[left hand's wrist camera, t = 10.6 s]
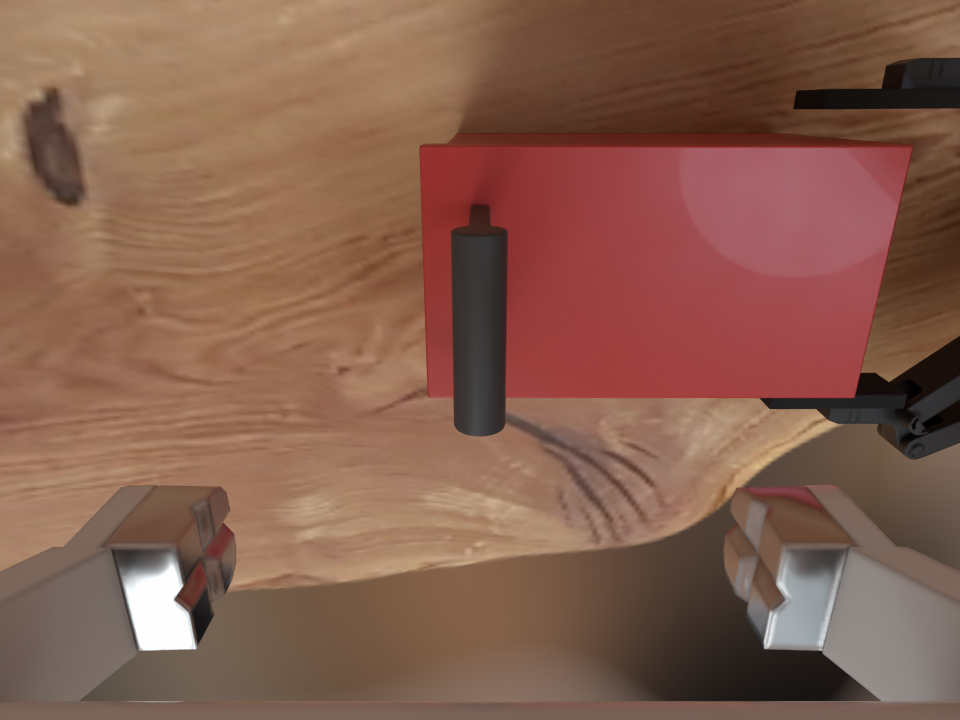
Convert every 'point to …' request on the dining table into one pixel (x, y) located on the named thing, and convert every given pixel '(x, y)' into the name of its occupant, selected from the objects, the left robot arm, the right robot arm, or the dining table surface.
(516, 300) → the lid
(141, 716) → the left robot arm
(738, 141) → the chest
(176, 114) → the dining table surface
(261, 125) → the dining table surface
